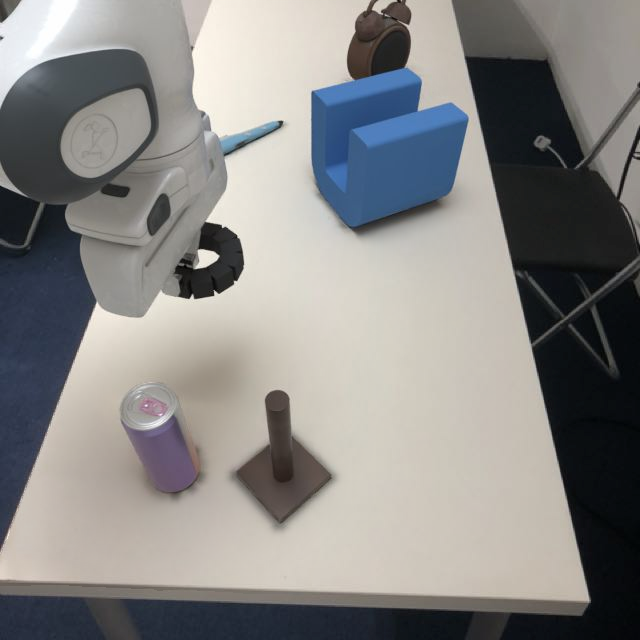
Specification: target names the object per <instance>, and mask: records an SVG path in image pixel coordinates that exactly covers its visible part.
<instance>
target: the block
mask: <svg viewBox="0 0 640 640" xmlns="http://www.w3.org/2000/svg"><path fill="white" fill-rule="evenodd" d="M422 84H423V80H422V78H421V77H420V76H419V75H418V74H416V73H415V72H414V71H413V70H411V69H410V68H408V67H405V68H403V69H399V70H395V71H391V72H387V73H383V74H379V75H374V76H370V77H366V78H362V79H358V80H354V79H353V80H351V81H347V82H342V83H338V84H335V85H330V86H327V87H322V88H318V89H314V90H311V93H310V136H311V137H310V155H311V157H310V159H311V166H312V171H313V172H312V173H313V175H314V180H315V182H316V185H317V187H318V189H319V191H320V193H321V196H322V197H323V198H324V199H325V200H326V202H327V203H328V205H329V206H330V207H331V208H332V209H333V210H334V212H335V213H336V214H337V215H338V217H339V218H340V219H341V220H342V221H343V222H344V224H345V225H346V226H347V225H348V227H350V228H355V227H356V228H357V227H358V226H361V225H364V224H367V223H371V222H374V221H376V220H379V219H382V218H385V217H388V216H391V215H394V214H397V213H400V212H403V211H406V210H409V209H412V208H415V207H418V206H421V205H425V204H427V203H430V202H433V201H436V200H439V199H441V198H445V197H447V196H448V195H449V194H450V193H451V192H452V190H453V188H454V186H455V181H456V177H457V174H458V173H457V172H458V169H459V168H458V167H459V165H460V164H459V163H460V159H461V156H462V151H463V147H464V142H465V138H466V135H467V134H466V133H467V129H468V125H469V121H470V120H469V115H468V114H467V113H466V112H464V110H462V109H460V108H459V107H458V106H457V105H456V104H455V103H453V102H451V101H450V102H447V103H442V104H438V105H435V106H432V107H429V108H425V109H421V110H419V105H420V99H421V93H422V87H423V85H422Z"/></svg>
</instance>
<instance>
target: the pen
mask: <svg viewBox="0 0 640 640" xmlns="http://www.w3.org/2000/svg"><path fill="white" fill-rule="evenodd" d="M283 124H284V120H273V121H270V122H266V123H264V124H260V125H259V126H256V127H253V128H250V129H247V130H245V131H241V132H238V133H234V134H230V135H228V134H225V135H222V136H220V137H219V139H220V142H221V146H222V150H223V154H224V155H226V154H227V153H230V152H233V151H234V150H237V149H238V148H240V147H242V146H244V145H246V144H248V143H250V142H252V141H254V140H256V139H258V138H260V137H262V136H264V135H266V134H268V133H270V132H272V131H274V130H276V129H277V128H278V129H279V127H281V126H282V125H283Z"/></svg>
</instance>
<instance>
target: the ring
mask: <svg viewBox="0 0 640 640" xmlns="http://www.w3.org/2000/svg"><path fill="white" fill-rule="evenodd" d="M200 230H201V234H200V241H199V247H198V251H199V250H203V251H210V252H213V253H215V254H216V255H218V258H217V259H216V260H215V261H214V262H212V263H210V264H209V265H206V266H204V267H199V268H195V269H187V268H182V267H179V266H176V268H175V272H174V274H179V275H182V276H183V283H184V287H183V289H182V290H181V292H180V294H179V296H178V297H177V298H182V299H185V300H190V299H191V298H192V297H193V300H199V299H200V300H201V299H205V298H212V297H215V296H216V295H215V292H216V294H218V295H220V294H222V293H224V292H225V291H227V290H228V289H230V288H232V287H234V285H235V282H238V281H239V279H240V277H241V275H242V273H243V271H244V269H245V267H244V266H245V257H244V250H243V246H242V242H241V239H240V237H238V234H236V233H235V232H234V231H233V230H231V229H229V228H228V227H227V226H224V227H223V225H222V224H221V223H220V224H219V223H214V222H209V221H205V223H204V225H203V226H202V228H201V229H200Z"/></svg>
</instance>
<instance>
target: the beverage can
mask: <svg viewBox="0 0 640 640" xmlns="http://www.w3.org/2000/svg"><path fill="white" fill-rule="evenodd" d="M119 416H120V423H121V425H122V427H123V429H124V431H125V433H126V435H127V437H128V439H129V441H130V443H131V445H132V447H133V449H134V451H135V453H136V455H137V457H138V459H139V461H140V463H141V465H142V466H143V468H144V470H145V473H146V474H147V476H148V479H149V480H150V483H151V484H152V485H153V486H154V487H155V488H156V489H157V490H159V491H161V492H164V493H177V492H181V491H183V490H185V489H187V488H188V487H189V486H191V485H192V484H193V483H194V482H195V480H196V479H197V477H198V475H199V473H200V469H201V462H200V458H199V455H198V451H197V449H196V446H195V443H194V440H193V437H192V434H191V431H190V428H189V425H188V422H187V419H186V416H185V412H184V410H183V407H182V404H181V401H180V398H179V397H178V395H177V393H175V391H174V390H173V389H172V388H171V387H170V386H169V385H168V384H165V383H163V382H159V381H147V382H142V383H140V384H138V385H136V386H134V387H132V388H131V389H130V390H129V391H127V393H126V394H125V395H124V396H123V397H122V399H121V401H120V405H119Z"/></svg>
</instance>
